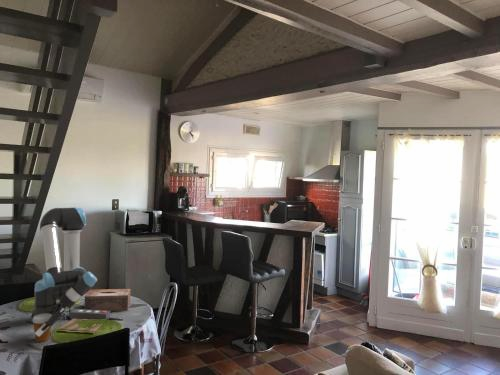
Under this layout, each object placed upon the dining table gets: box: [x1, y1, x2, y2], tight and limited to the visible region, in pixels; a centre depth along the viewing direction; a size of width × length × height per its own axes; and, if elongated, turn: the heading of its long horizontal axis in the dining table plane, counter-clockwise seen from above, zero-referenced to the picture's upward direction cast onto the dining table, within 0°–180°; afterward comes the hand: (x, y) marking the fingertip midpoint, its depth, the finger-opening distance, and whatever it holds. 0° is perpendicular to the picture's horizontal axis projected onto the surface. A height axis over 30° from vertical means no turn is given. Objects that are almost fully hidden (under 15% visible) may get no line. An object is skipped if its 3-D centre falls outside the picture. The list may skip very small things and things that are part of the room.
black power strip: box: [69, 308, 124, 321], centre depth 236 cm, size 31×6×4 cm, turn 85°
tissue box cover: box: [83, 288, 131, 312], centre depth 256 cm, size 26×14×10 cm, turn 101°
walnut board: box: [57, 319, 102, 332], centre depth 222 cm, size 20×16×2 cm
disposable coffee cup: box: [32, 313, 52, 343], centre depth 204 cm, size 10×10×12 cm
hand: (37, 330), depth 203 cm, fingers open, 13 cm apart
